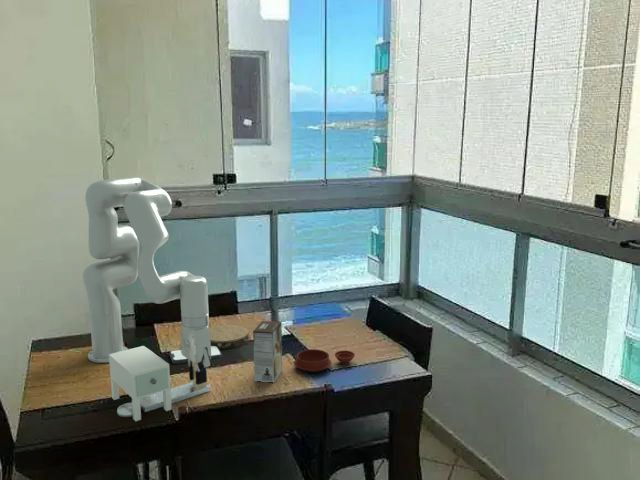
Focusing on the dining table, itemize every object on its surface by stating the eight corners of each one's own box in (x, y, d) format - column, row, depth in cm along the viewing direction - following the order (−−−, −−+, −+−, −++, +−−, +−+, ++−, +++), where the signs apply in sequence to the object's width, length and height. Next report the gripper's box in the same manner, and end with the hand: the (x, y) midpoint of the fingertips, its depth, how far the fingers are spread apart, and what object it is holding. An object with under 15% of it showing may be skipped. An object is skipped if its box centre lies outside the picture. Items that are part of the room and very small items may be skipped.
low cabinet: (112, 398, 164) (108, 354, 162) (146, 387, 171) (143, 345, 168) (138, 423, 151) (134, 376, 148) (174, 411, 157) (171, 366, 154)
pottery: (289, 364, 188) (288, 351, 187) (346, 355, 195) (346, 342, 194) (301, 379, 177) (301, 365, 176) (361, 369, 184) (361, 355, 183)
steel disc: (114, 411, 158) (113, 407, 157) (136, 404, 161) (135, 400, 161) (122, 420, 153) (121, 415, 153) (144, 413, 157) (144, 409, 156)
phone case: (217, 349, 201) (169, 355, 195) (216, 345, 200) (168, 350, 194) (222, 359, 193) (172, 365, 187) (222, 354, 192) (172, 360, 186)
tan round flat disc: (257, 338, 210) (257, 330, 209) (227, 352, 197) (227, 344, 196) (223, 329, 218) (223, 321, 218) (193, 343, 205) (192, 335, 204)
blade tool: (135, 404, 161) (133, 369, 159) (199, 383, 173) (198, 351, 171) (145, 412, 156) (142, 377, 154) (210, 390, 169) (208, 358, 167)
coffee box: (262, 369, 184) (262, 320, 180) (282, 370, 182) (282, 321, 179) (253, 381, 175) (252, 330, 171) (274, 383, 174) (273, 332, 170)
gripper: (169, 315, 169) (173, 375, 173) (197, 331, 157) (200, 394, 161) (193, 310, 174) (196, 368, 178) (221, 324, 162) (224, 386, 165)
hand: (198, 380), depth 169 cm, fingers closed on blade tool, 3 cm apart
